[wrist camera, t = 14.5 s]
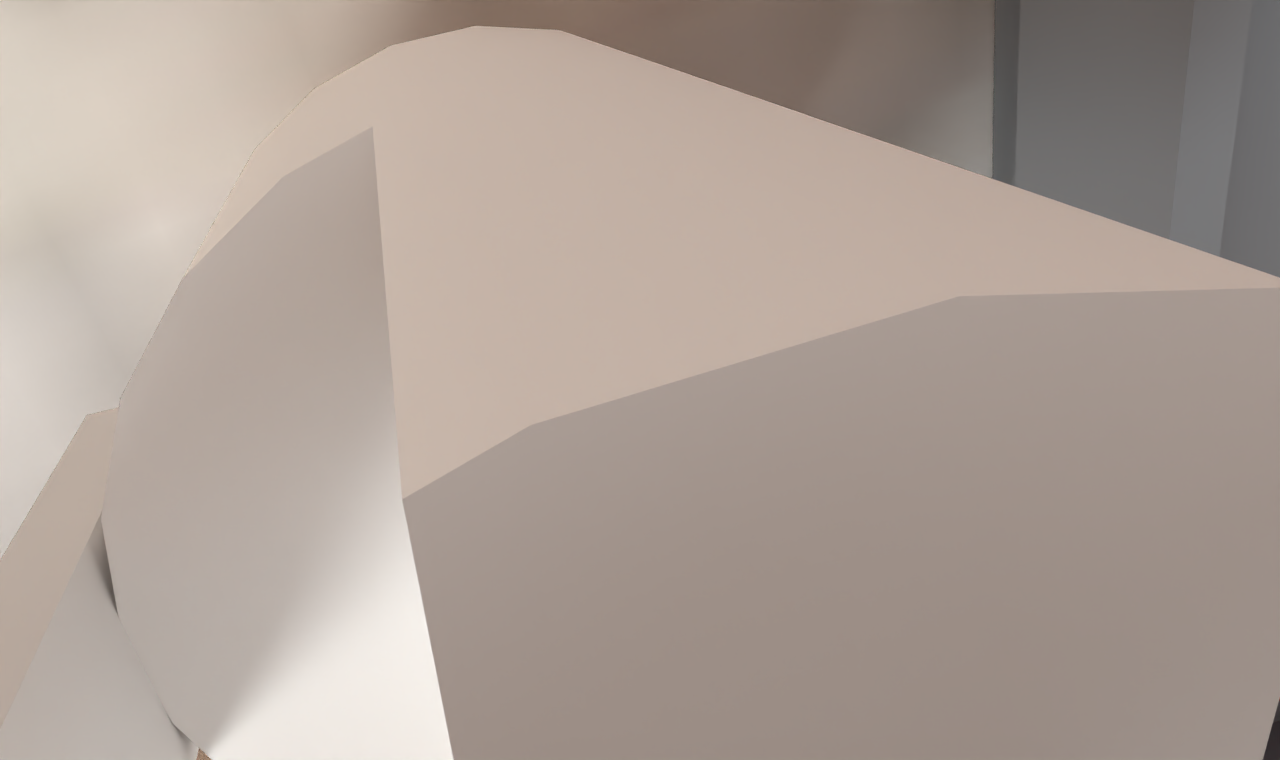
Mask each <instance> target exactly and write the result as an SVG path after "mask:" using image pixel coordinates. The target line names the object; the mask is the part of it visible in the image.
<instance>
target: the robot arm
mask: <svg viewBox="0 0 1280 760" xmlns="http://www.w3.org/2000/svg"><path fill="white" fill-rule="evenodd" d="M118 410H119V407H118V408H113V409H109V410H105V411H101V412H97V413H93V414H89V415H87V416H86V417H85V419H84V421H83V422H82V424H81V426H80V427H79V429H78V431H77V432H76V434H75V436H74V438H73V439H72V441H71V443H70V444H69V446H68V448H67V449H66V451H65V453H64V454H63V456H62V458H61V459H60V461H59V463H58V464H57V466H56V468H55V469H54V471H53V473H52V474H51V476H50V478H49V479H48V481H47V483H46V484H45V486H44V488H43V489H42V491H41V493H40V495H39V496H38V498H37V500H36V501H35V503H34V505H33V506H32V508H31V510H30V511H29V513H28V515H27V516H26V518H25V520H24V521H23V523H22V525H21V526H20V528H19V530H18V531H17V533H16V535H15V536H14V538H13V540H12V541H11V543H10V545H9V547H8V548H7V550H6V552H5V553H4V555H3V557H2V558H1V560H0V760H196V759H197V754H198V750H199V747H198V746H197V745H196V744H194V743H193V742H192V741H191V740H190V739H189V738H188V737H187V736H186V735H185V734H184V733H183V732H182V731H180V730H179V729H178V728H177V727H176V726H175V725H174V724H173V723H172V721H171V719H170V717H169V716H168V714H167V712H166V710H165V708H164V707H163V705H162V703H161V701H160V699H159V697H158V695H157V693H156V691H155V689H154V687H153V685H152V683H151V681H150V679H149V677H148V675H147V673H146V671H145V669H144V667H143V665H142V663H141V661H140V659H139V657H138V655H137V653H136V651H135V649H134V647H133V645H132V643H131V641H130V639H129V637H128V635H127V633H126V631H125V629H124V627H123V625H122V623H121V621H120V619H119V617H118V612H117V606H116V601H115V595H114V590H113V584H112V579H111V573H110V567H109V562H108V556H107V551H106V545H105V540H104V534H103V528H102V523H101V516H102V510H103V503H104V497H105V491H106V485H107V478H108V472H109V466H110V460H111V453H112V447H113V441H114V435H115V428H116V422H117V416H118Z"/></svg>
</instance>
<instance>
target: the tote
mask: <svg viewBox="0 0 1280 760" xmlns="http://www.w3.org/2000/svg"><path fill="white" fill-rule="evenodd" d="M993 179H994V180H997V181H1000V182H1003V183H1006V184H1009V185H1012V186H1015V187H1018V188H1021V189H1024V190H1026V191H1029V192H1032V193H1035V194H1038V195H1041V196H1044V197H1047V198H1050V199H1053V200H1055V201H1058V202H1061V203H1064V204H1067V205H1070V206H1073V207H1076V208H1079V209H1082V210H1085V211H1087V212H1090V213H1093V214H1096V215H1099V216H1102V217H1105V218H1108V219H1111V220H1114V221H1117V222H1119V223H1122V224H1125V225H1128V226H1131V227H1134V228H1137V229H1140V230H1143V231H1146V232H1149V233H1151V234H1154V235H1157V236H1160V237H1163V238H1166V239H1169V240H1172V241H1175V242H1178V243H1180V244H1183V245H1186V246H1189V247H1192V248H1195V249H1198V250H1201V251H1204V252H1207V253H1210V254H1212V255H1215V256H1218V257H1221V258H1224V259H1227V260H1230V261H1233V262H1236V263H1239V264H1242V265H1244V266H1247V267H1250V268H1253V269H1256V270H1259V271H1262V272H1265V273H1268V274H1271V275H1273V276H1276V277H1279V278H1280V0H995V55H994V117H993ZM1263 760H1280V700H1279V702H1278V706H1277V709H1276V713H1275V717H1274V720H1273V724H1272V728H1271V731H1270V735H1269V739H1268V742H1267V746H1266V750H1265V753H1264V757H1263Z"/></svg>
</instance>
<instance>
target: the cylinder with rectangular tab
mask: <svg viewBox="0 0 1280 760" xmlns="http://www.w3.org/2000/svg"><path fill="white" fill-rule="evenodd" d="M101 523H102V528H103V534H104V540H105V545H106V551H107V556H108V562H109V567H110V573H111V579H112V584H113V590H114V595H115V601H116V606H117V612H118V617H119V619H120V621H121V623H122V625H123V627H124V629H125V631H126V633H127V635H128V637H129V639H130V641H131V643H132V645H133V647H134V649H135V651H136V653H137V655H138V657H139V659H140V661H141V663H142V665H143V667H144V669H145V671H146V673H147V675H148V677H149V679H150V681H151V683H152V685H153V687H154V689H155V691H156V693H157V695H158V697H159V699H160V701H161V703H162V705H163V707H164V708H165V710H166V712H167V714H168V716H169V717H170V719H171V721H172V723H173V724H174V725H175V726H176V727H177V728H178V729H179V730H180V731H182V732H183V733H184V734H185V735H186V736H187V737H188V738H189V739H190V740H191V741H192V742H193V743H194V744H196V745H197V746H198V747H199V748H200V749H201V750H202V751H203V752H204V753H205V754H206V755H207V756H208V757H210V758H211V759H212V760H1263V757H1264V753H1265V750H1266V746H1267V742H1268V739H1269V735H1270V731H1271V728H1272V724H1273V720H1274V717H1275V713H1276V709H1277V706H1278V702H1279V698H1280V278H1279V277H1276V276H1273V275H1271V274H1268V273H1265V272H1262V271H1259V270H1256V269H1253V268H1250V267H1247V266H1244V265H1242V264H1239V263H1236V262H1233V261H1230V260H1227V259H1224V258H1221V257H1218V256H1215V255H1212V254H1210V253H1207V252H1204V251H1201V250H1198V249H1195V248H1192V247H1189V246H1186V245H1183V244H1180V243H1178V242H1175V241H1172V240H1169V239H1166V238H1163V237H1160V236H1157V235H1154V234H1151V233H1149V232H1146V231H1143V230H1140V229H1137V228H1134V227H1131V226H1128V225H1125V224H1122V223H1119V222H1117V221H1114V220H1111V219H1108V218H1105V217H1102V216H1099V215H1096V214H1093V213H1090V212H1087V211H1085V210H1082V209H1079V208H1076V207H1073V206H1070V205H1067V204H1064V203H1061V202H1058V201H1055V200H1053V199H1050V198H1047V197H1044V196H1041V195H1038V194H1035V193H1032V192H1029V191H1026V190H1024V189H1021V188H1018V187H1015V186H1012V185H1009V184H1006V183H1003V182H1000V181H997V180H994V179H992V178H989V177H986V176H983V175H980V174H977V173H974V172H971V171H968V170H965V169H962V168H960V167H957V166H954V165H951V164H948V163H945V162H942V161H939V160H936V159H933V158H931V157H928V156H925V155H922V154H919V153H916V152H913V151H910V150H907V149H904V148H901V147H899V146H896V145H893V144H890V143H887V142H884V141H881V140H878V139H875V138H872V137H869V136H867V135H864V134H861V133H858V132H855V131H852V130H849V129H846V128H843V127H840V126H837V125H835V124H832V123H829V122H826V121H823V120H820V119H817V118H814V117H811V116H809V115H806V114H803V113H801V112H798V111H795V110H792V109H789V108H786V107H783V106H780V105H777V104H774V103H771V102H769V101H766V100H763V99H760V98H757V97H754V96H751V95H748V94H745V93H742V92H739V91H736V90H734V89H731V88H728V87H725V86H722V85H719V84H716V83H713V82H710V81H707V80H704V79H702V78H699V77H696V76H693V75H690V74H687V73H684V72H681V71H678V70H675V69H672V68H670V67H667V66H664V65H661V64H658V63H655V62H652V61H649V60H646V59H643V58H640V57H637V56H635V55H632V54H629V53H626V52H623V51H620V50H617V49H614V48H611V47H608V46H605V45H602V44H599V43H596V42H593V41H591V40H588V39H585V38H582V37H579V36H576V35H573V34H570V33H567V32H564V31H561V30H550V29H530V28H509V27H489V26H472V27H468V28H464V29H459V30H455V31H451V32H446V33H442V34H438V35H434V36H429V37H425V38H421V39H416V40H412V41H408V42H403V43H399V44H395V45H391V46H389V47H387V48H385V49H383V50H382V51H380V52H378V53H376V54H375V55H373V56H371V57H369V58H367V59H366V60H364V61H362V62H360V63H358V64H357V65H355V66H353V67H351V68H349V69H348V70H346V71H344V72H342V73H341V74H339V75H337V76H335V77H333V78H332V79H330V80H328V81H326V82H324V83H323V84H321V85H319V86H317V87H316V88H314V89H313V90H312V91H311V92H310V93H309V94H308V95H307V96H306V97H305V98H304V99H303V100H302V101H301V102H300V103H299V104H298V105H297V106H296V107H295V108H294V110H293V111H292V112H291V113H290V114H289V115H288V116H287V117H286V118H285V119H284V120H283V121H282V122H281V123H280V124H279V125H278V126H277V127H276V128H275V129H274V130H273V131H272V132H271V133H270V134H269V135H268V136H267V137H266V138H265V139H264V140H263V141H262V142H261V143H260V144H259V145H258V146H257V147H256V148H255V149H254V151H253V153H252V155H251V156H250V158H249V160H248V162H247V164H246V165H245V167H244V169H243V171H242V173H241V174H240V176H239V178H238V180H237V182H236V183H235V185H234V187H233V189H232V191H231V192H230V194H229V196H228V198H227V200H226V201H225V203H224V205H223V207H222V209H221V210H220V212H219V214H218V216H217V218H216V219H215V221H214V223H213V225H212V226H211V228H210V230H209V232H208V234H207V235H206V237H205V239H204V241H203V243H202V244H201V246H200V248H199V250H198V252H197V253H196V255H195V257H194V259H193V261H192V262H191V264H190V266H189V268H188V270H187V271H186V273H185V275H184V277H183V279H182V280H181V282H180V284H179V286H178V288H177V290H176V292H175V294H174V296H173V298H172V300H171V302H170V304H169V305H168V307H167V309H166V311H165V313H164V315H163V317H162V319H161V321H160V323H159V325H158V327H157V329H156V330H155V332H154V334H153V336H152V338H151V340H150V342H149V344H148V346H147V348H146V350H145V352H144V354H143V355H142V357H141V359H140V361H139V363H138V365H137V367H136V369H135V371H134V373H133V375H132V377H131V379H130V381H129V382H128V384H127V386H126V388H125V390H124V392H123V394H122V396H121V398H120V403H119V410H118V416H117V422H116V428H115V435H114V441H113V447H112V453H111V460H110V466H109V472H108V478H107V485H106V491H105V497H104V503H103V510H102V516H101Z"/></svg>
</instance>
